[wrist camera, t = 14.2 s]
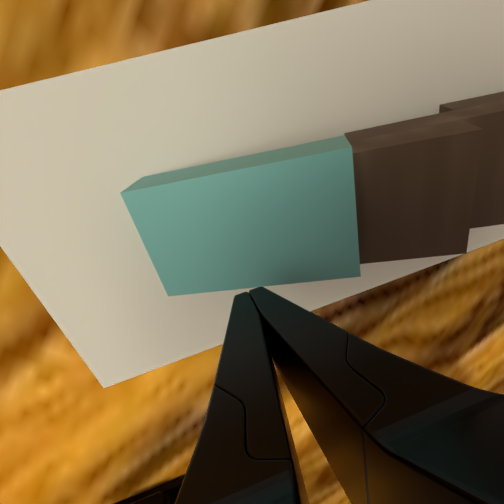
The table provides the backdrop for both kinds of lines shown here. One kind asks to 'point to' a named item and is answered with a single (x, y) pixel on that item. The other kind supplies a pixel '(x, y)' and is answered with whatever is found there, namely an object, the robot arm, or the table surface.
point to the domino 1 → (251, 219)
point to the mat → (213, 156)
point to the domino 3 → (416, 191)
